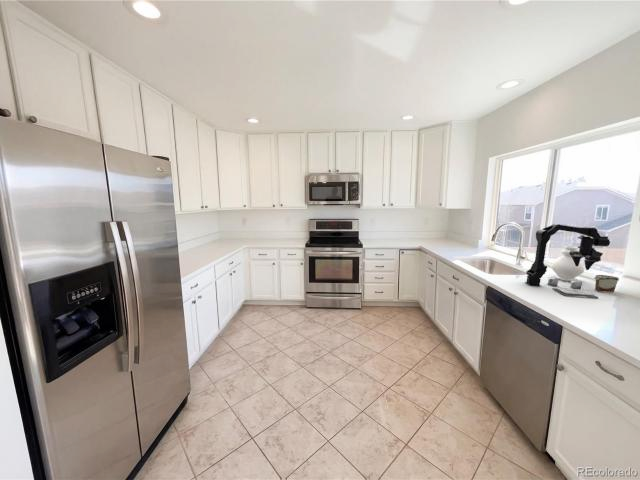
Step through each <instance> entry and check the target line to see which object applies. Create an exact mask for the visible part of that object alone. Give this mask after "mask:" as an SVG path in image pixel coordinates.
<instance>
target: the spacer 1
mask: <svg viewBox="0 0 640 480" xmlns="http://www.w3.org/2000/svg"><path fill="white" fill-rule="evenodd" d="M547 285H548V286H550V287H558V285H559V279H557V278H555V277H554V276H553V277H550V276H549V277H548V281H547Z"/></svg>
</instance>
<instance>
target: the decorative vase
mask: <svg viewBox="0 0 640 480" xmlns="http://www.w3.org/2000/svg"><path fill="white" fill-rule="evenodd" d="M578 249H579V248H578V246H573V245H572V246H571V245H570V246H569V245H564V246H563V249H562V250H561V251H560V253H561V254H562V255H561V256H558V258H556V259H554V260H553V261H552V262H551V269H552V271H553V272H554V273H555V274H556V275H554V276H553V278H557V279H558V280H560V281H566V282H571V281H572V280H576V281H578V279H577V277H579V276H581V275H582V274H583V273H584V272H585V271H586V268H585V264H583V262H582V261H581V260H580V262H579V265H578V266H576V265H575V263H574V261H573V259H572V257H571V256H570V255H569V253H570V251H578Z"/></svg>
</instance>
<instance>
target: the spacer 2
mask: <svg viewBox="0 0 640 480" xmlns="http://www.w3.org/2000/svg"><path fill="white" fill-rule="evenodd" d="M570 282H571V283H570V287H569V289H582V286H583V285H582V284H583V281H579V280H577V281H576V280H572V281H570Z"/></svg>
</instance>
